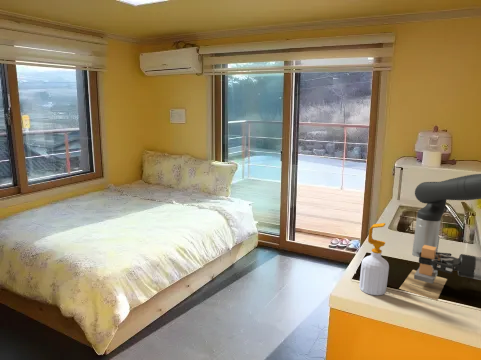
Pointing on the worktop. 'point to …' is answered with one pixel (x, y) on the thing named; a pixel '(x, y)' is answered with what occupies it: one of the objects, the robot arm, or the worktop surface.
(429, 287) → the oak board
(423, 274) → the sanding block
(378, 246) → the soap bottle
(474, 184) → the robot arm
